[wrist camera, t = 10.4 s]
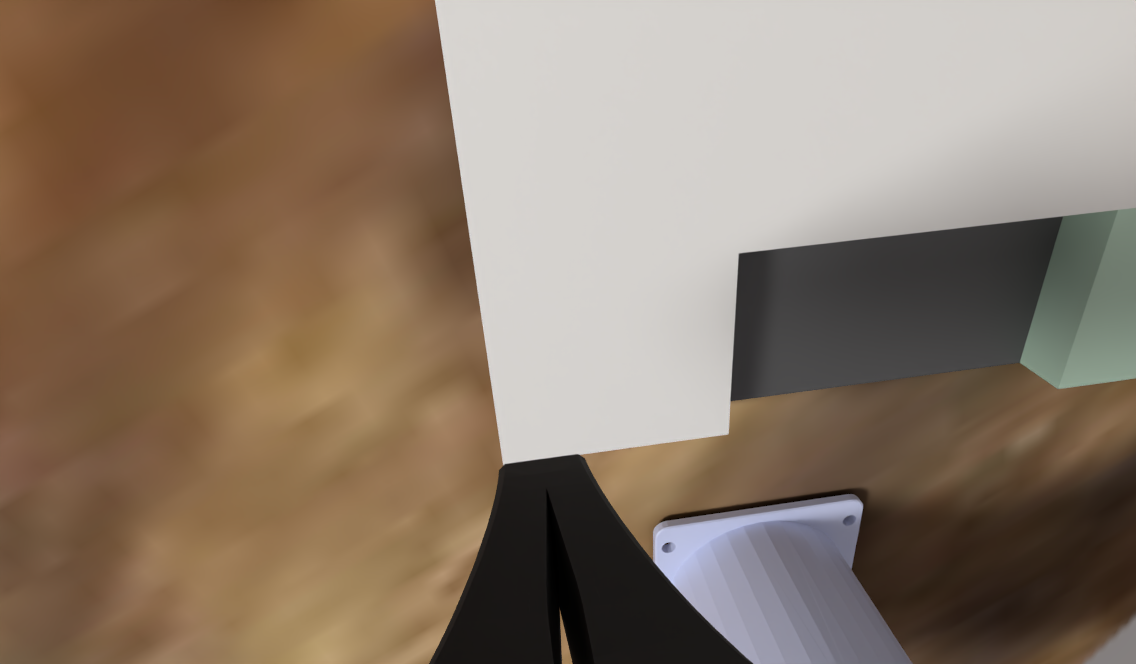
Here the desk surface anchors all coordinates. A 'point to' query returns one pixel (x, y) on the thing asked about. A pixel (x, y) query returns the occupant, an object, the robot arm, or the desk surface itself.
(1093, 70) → the trap board
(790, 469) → the desk surface
